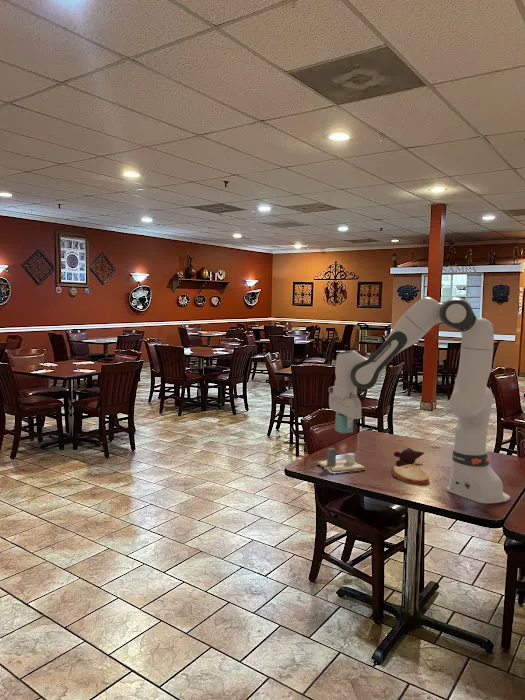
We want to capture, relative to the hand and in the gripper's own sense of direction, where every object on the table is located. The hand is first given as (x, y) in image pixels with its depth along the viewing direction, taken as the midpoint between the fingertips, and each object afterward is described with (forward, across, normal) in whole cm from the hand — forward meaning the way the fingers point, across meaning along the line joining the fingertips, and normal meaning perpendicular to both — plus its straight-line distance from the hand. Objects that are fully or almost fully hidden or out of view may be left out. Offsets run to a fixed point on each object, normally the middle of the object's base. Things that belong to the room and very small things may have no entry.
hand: (344, 425), depth 218 cm
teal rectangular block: (+2, 0, 0) cm, 2 cm away
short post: (+19, +8, -8) cm, 22 cm away
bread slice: (+20, -12, -25) cm, 34 cm away
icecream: (+20, +4, -35) cm, 41 cm away
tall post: (+19, +8, +1) cm, 20 cm away
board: (+20, +8, -4) cm, 22 cm away
